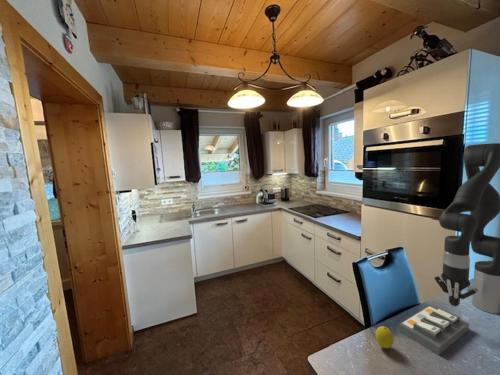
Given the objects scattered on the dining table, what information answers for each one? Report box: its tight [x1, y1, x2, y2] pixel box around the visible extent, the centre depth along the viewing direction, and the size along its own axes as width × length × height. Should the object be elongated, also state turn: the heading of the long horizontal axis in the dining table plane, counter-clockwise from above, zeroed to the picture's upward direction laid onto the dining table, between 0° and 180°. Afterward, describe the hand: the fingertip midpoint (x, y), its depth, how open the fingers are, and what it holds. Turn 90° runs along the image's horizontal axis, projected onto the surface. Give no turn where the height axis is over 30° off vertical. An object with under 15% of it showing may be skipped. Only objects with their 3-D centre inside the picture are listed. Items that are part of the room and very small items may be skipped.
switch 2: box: [435, 308, 457, 322], centre depth 89 cm, size 4×6×1 cm, turn 27°
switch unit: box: [398, 304, 470, 356], centre depth 86 cm, size 24×13×5 cm, turn 117°
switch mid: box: [427, 316, 449, 327], centre depth 85 cm, size 4×6×1 cm, turn 27°
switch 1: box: [417, 322, 440, 335], centre depth 82 cm, size 4×6×1 cm, turn 27°
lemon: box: [375, 325, 394, 349], centre depth 79 cm, size 6×6×8 cm
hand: (453, 305), depth 86 cm, fingers closed
